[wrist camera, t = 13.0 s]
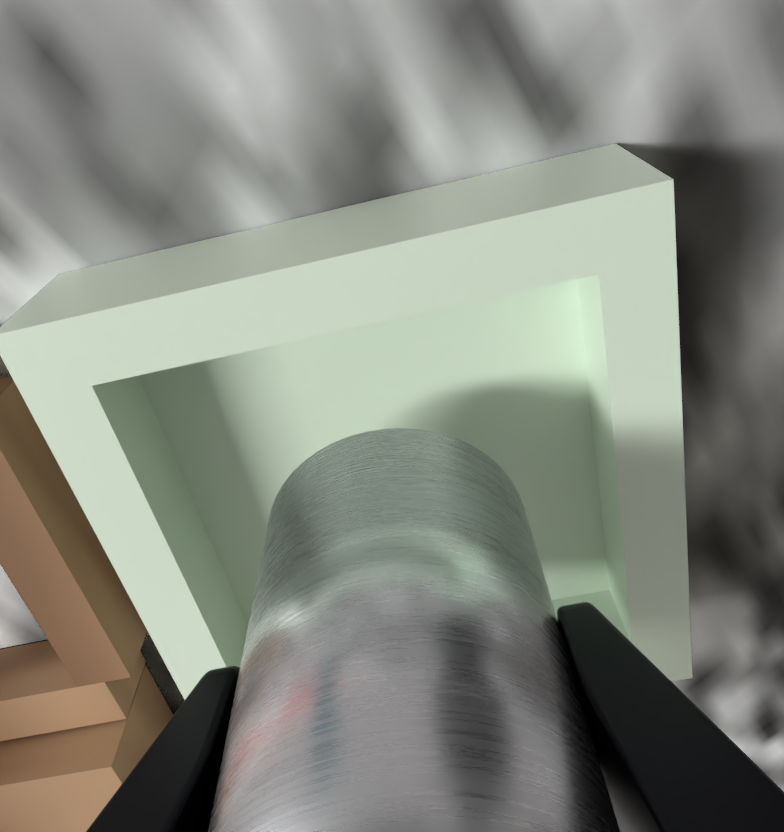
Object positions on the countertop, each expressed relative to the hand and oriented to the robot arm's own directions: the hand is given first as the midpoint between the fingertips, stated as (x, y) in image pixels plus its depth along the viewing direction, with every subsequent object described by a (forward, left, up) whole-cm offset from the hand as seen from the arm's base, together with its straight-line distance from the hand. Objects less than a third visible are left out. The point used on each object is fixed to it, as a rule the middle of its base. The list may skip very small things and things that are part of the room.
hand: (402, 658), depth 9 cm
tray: (0, 0, -5) cm, 5 cm away
